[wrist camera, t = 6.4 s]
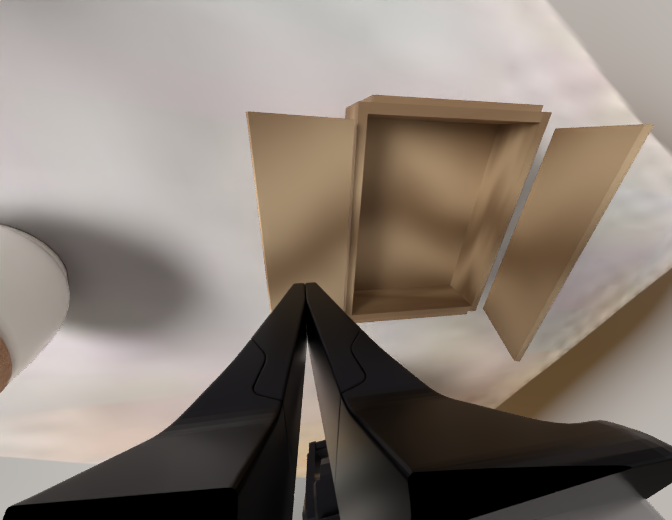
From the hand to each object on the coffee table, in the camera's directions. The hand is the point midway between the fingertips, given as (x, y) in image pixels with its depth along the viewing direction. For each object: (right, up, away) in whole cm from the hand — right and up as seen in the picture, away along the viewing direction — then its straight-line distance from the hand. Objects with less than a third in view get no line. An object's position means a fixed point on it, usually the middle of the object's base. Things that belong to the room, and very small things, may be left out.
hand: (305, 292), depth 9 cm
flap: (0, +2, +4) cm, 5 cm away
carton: (+7, +5, +10) cm, 13 cm away
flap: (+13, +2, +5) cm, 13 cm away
